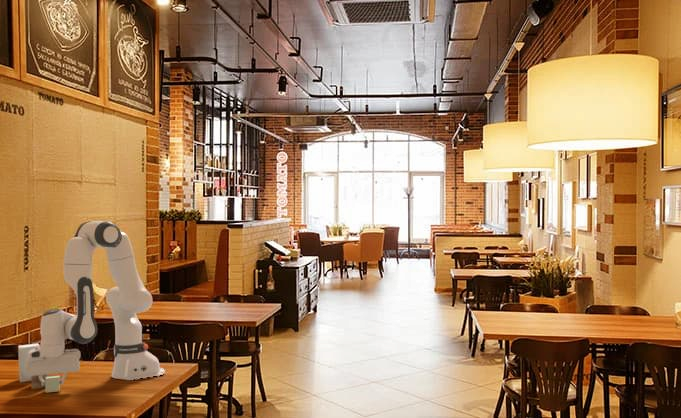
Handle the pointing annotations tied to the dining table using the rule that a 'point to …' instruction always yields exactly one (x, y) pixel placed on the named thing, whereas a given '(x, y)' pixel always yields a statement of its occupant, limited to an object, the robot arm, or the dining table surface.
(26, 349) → the skincare box
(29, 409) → the dining table surface
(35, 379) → the block bottom
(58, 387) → the block small
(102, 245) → the robot arm
